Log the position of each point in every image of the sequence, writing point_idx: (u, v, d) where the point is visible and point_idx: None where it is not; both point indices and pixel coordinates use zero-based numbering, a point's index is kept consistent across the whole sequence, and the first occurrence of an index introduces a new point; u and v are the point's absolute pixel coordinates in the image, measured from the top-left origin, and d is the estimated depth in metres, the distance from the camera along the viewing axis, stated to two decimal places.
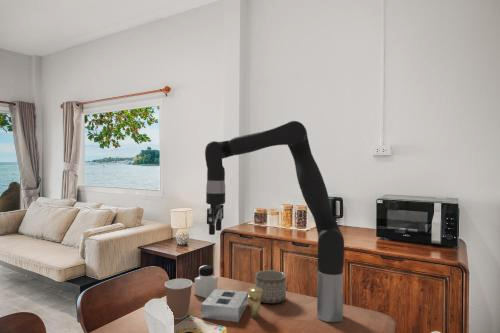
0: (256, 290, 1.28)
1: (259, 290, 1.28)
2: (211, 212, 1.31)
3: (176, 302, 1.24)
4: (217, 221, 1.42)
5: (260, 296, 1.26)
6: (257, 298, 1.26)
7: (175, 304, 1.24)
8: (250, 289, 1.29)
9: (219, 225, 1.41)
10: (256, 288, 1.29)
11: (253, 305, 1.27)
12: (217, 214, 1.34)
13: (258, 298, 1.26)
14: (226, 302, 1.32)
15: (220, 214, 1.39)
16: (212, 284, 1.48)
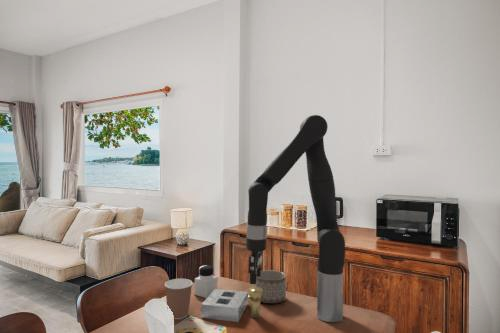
0: (256, 290, 1.28)
1: (259, 290, 1.28)
2: (253, 261, 1.22)
3: (176, 302, 1.24)
4: None
5: (260, 296, 1.26)
6: (257, 298, 1.26)
7: (175, 304, 1.24)
8: (250, 289, 1.29)
9: (258, 271, 1.32)
10: (256, 288, 1.29)
11: (253, 305, 1.27)
12: (258, 262, 1.25)
13: (258, 298, 1.26)
14: (226, 302, 1.32)
15: (260, 260, 1.30)
16: (212, 284, 1.48)
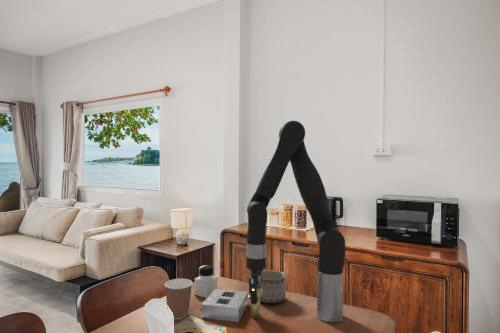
0: None
1: (259, 290, 1.28)
2: (253, 283, 1.22)
3: (176, 302, 1.24)
4: None
5: (260, 296, 1.26)
6: (257, 298, 1.26)
7: (175, 304, 1.24)
8: None
9: None
10: None
11: (253, 305, 1.27)
12: (259, 281, 1.26)
13: (258, 298, 1.26)
14: (226, 302, 1.32)
15: (260, 279, 1.30)
16: (212, 284, 1.48)
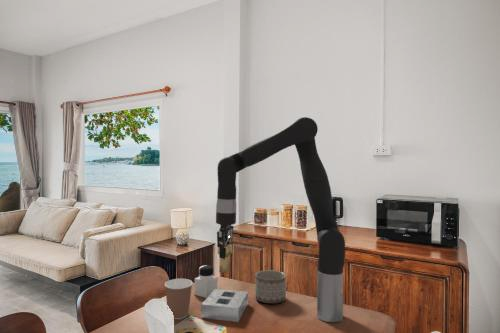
0: None
1: (228, 245, 1.29)
2: (221, 236, 1.23)
3: (176, 302, 1.24)
4: None
5: (229, 251, 1.27)
6: (226, 252, 1.27)
7: (175, 304, 1.24)
8: None
9: None
10: (226, 244, 1.30)
11: (222, 259, 1.28)
12: (228, 236, 1.26)
13: (227, 253, 1.27)
14: (226, 302, 1.32)
15: (230, 235, 1.30)
16: (212, 284, 1.48)
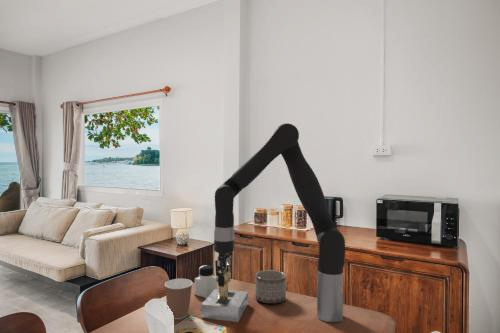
0: None
1: (226, 273, 1.29)
2: (220, 265, 1.23)
3: (176, 302, 1.24)
4: None
5: (227, 279, 1.27)
6: (224, 281, 1.27)
7: (175, 304, 1.24)
8: None
9: None
10: (225, 271, 1.30)
11: (220, 287, 1.28)
12: (226, 264, 1.27)
13: (225, 281, 1.27)
14: (226, 302, 1.32)
15: (228, 262, 1.31)
16: (212, 284, 1.48)
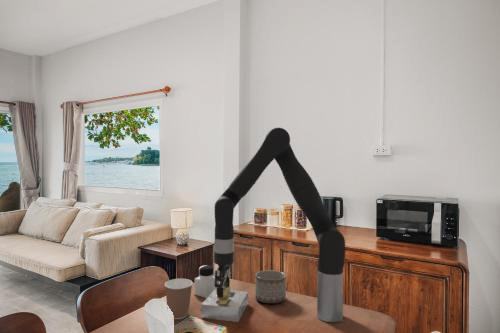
0: (224, 289, 1.28)
1: (226, 288, 1.29)
2: (219, 275, 1.23)
3: (176, 302, 1.24)
4: None
5: (227, 295, 1.27)
6: (224, 297, 1.27)
7: (175, 304, 1.24)
8: None
9: (227, 284, 1.33)
10: (224, 287, 1.30)
11: (220, 303, 1.28)
12: (225, 275, 1.26)
13: (225, 297, 1.27)
14: None
15: (228, 273, 1.31)
16: (212, 284, 1.48)
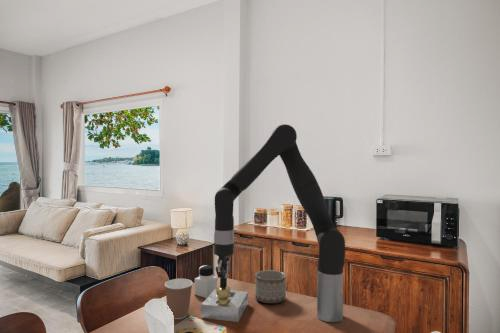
0: (224, 289, 1.28)
1: (226, 288, 1.29)
2: (220, 271, 1.24)
3: (176, 302, 1.24)
4: None
5: (227, 295, 1.27)
6: (224, 297, 1.27)
7: (175, 304, 1.24)
8: (218, 287, 1.30)
9: None
10: None
11: (220, 303, 1.28)
12: (226, 267, 1.28)
13: (225, 297, 1.27)
14: None
15: None
16: (212, 284, 1.48)
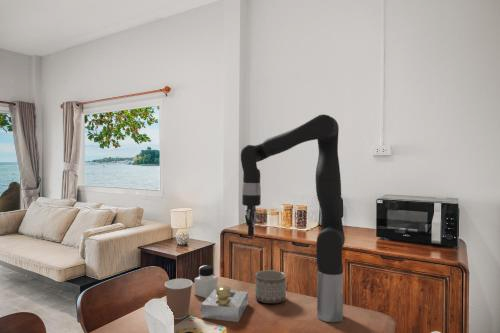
0: (224, 289, 1.28)
1: (226, 288, 1.29)
2: (249, 219, 1.37)
3: (176, 302, 1.24)
4: None
5: (227, 295, 1.27)
6: (224, 297, 1.27)
7: (175, 304, 1.24)
8: (218, 287, 1.30)
9: None
10: (224, 287, 1.30)
11: (220, 303, 1.28)
12: (254, 216, 1.41)
13: (225, 297, 1.27)
14: None
15: (254, 216, 1.43)
16: (212, 284, 1.48)
